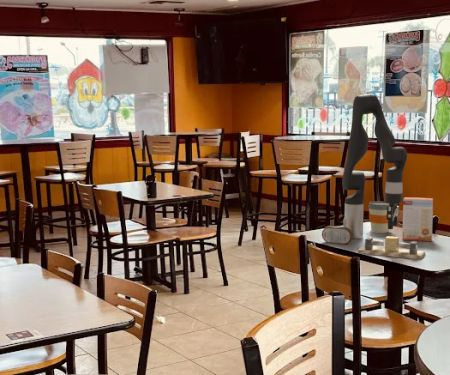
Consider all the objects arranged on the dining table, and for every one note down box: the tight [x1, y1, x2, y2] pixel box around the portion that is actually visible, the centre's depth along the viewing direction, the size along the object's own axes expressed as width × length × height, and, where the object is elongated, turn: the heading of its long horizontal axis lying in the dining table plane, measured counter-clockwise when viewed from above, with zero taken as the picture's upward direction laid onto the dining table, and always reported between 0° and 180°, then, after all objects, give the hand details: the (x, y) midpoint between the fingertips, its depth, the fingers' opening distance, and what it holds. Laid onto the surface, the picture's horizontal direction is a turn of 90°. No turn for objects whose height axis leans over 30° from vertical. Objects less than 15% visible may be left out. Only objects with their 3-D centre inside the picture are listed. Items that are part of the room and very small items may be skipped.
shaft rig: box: [357, 237, 426, 260], centre depth 313 cm, size 28×10×6 cm, turn 63°
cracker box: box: [401, 196, 434, 242], centre depth 343 cm, size 14×6×21 cm, turn 71°
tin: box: [321, 225, 354, 245], centre depth 336 cm, size 15×3×8 cm, turn 65°
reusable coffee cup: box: [368, 200, 390, 234], centre depth 366 cm, size 13×13×15 cm
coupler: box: [384, 235, 400, 252], centre depth 313 cm, size 5×4×6 cm
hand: (392, 227), depth 312 cm, fingers open, 8 cm apart
